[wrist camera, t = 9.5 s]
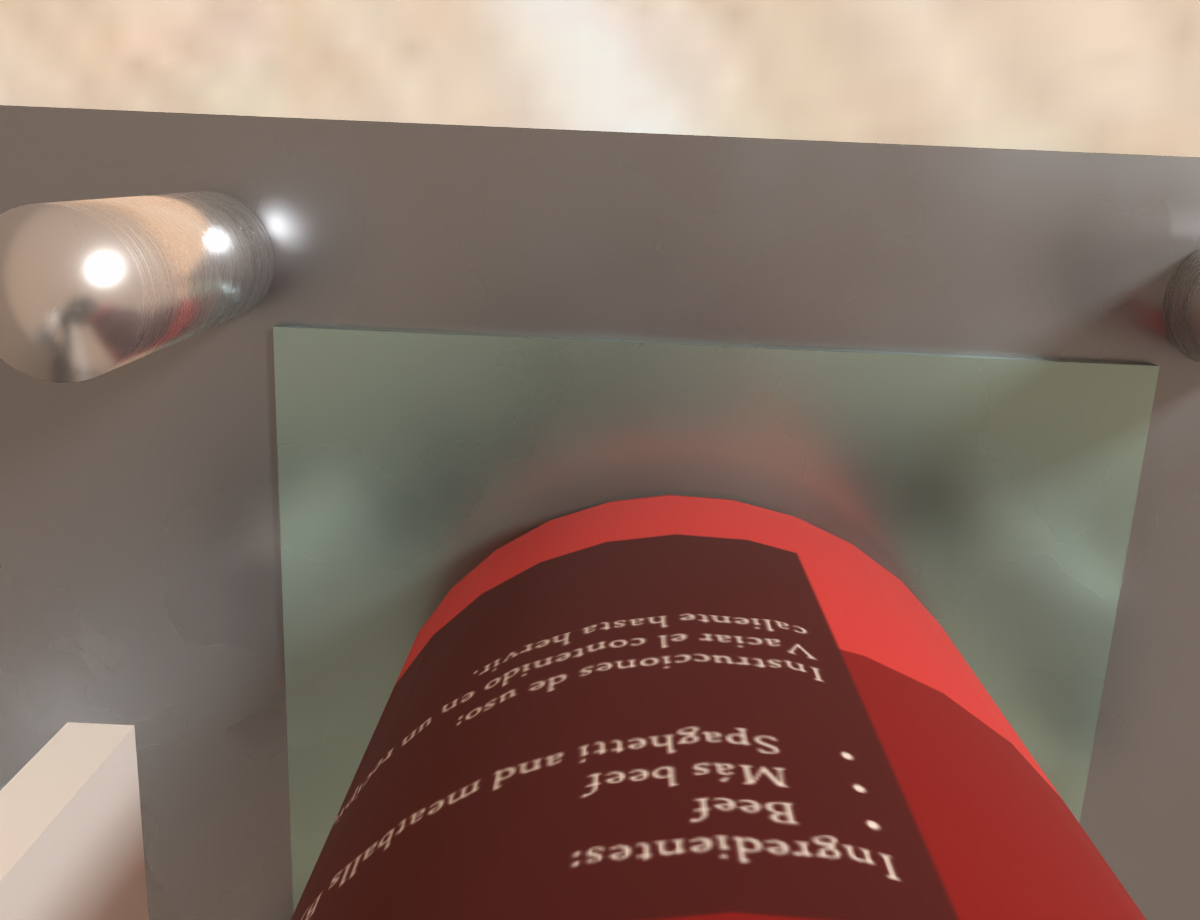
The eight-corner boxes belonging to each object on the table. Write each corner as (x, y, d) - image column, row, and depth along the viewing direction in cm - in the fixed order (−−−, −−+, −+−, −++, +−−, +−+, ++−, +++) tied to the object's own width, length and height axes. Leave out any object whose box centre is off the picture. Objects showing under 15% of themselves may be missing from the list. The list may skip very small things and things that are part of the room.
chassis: (67, 1086, 19) (-146, 1445, 14) (-32, 107, 15) (-396, 77, 10) (1240, 1144, 19) (1482, 1527, 14) (1472, 172, 15) (1954, 178, 9)
